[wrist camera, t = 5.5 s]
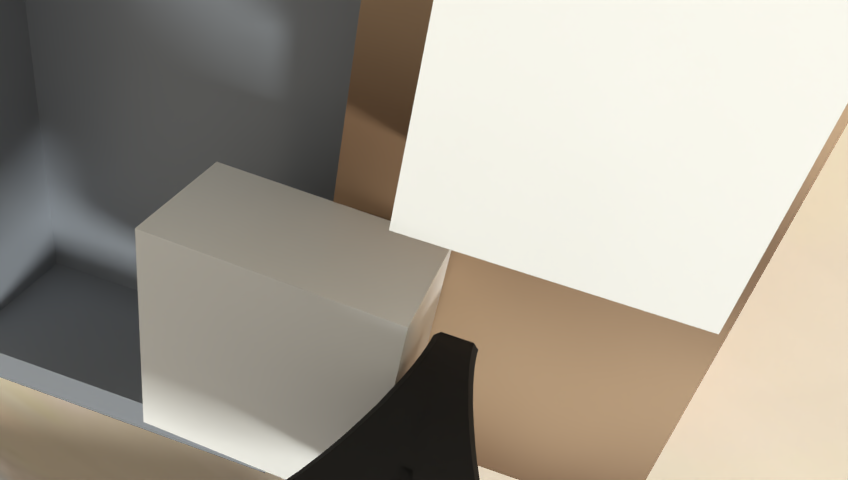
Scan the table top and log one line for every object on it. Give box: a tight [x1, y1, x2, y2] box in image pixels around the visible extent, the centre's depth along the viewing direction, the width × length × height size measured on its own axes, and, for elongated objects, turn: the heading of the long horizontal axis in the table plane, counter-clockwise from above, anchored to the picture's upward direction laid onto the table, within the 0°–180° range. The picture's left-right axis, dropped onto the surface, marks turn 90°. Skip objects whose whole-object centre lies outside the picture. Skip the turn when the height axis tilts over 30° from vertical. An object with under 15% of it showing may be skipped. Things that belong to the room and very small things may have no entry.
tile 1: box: [389, 0, 848, 334], centre depth 10 cm, size 4×4×2 cm
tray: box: [0, 0, 361, 473], centre depth 14 cm, size 14×8×4 cm, turn 170°
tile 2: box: [135, 162, 451, 480], centre depth 14 cm, size 4×4×2 cm
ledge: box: [333, 0, 848, 480], centre depth 13 cm, size 12×7×2 cm, turn 170°
